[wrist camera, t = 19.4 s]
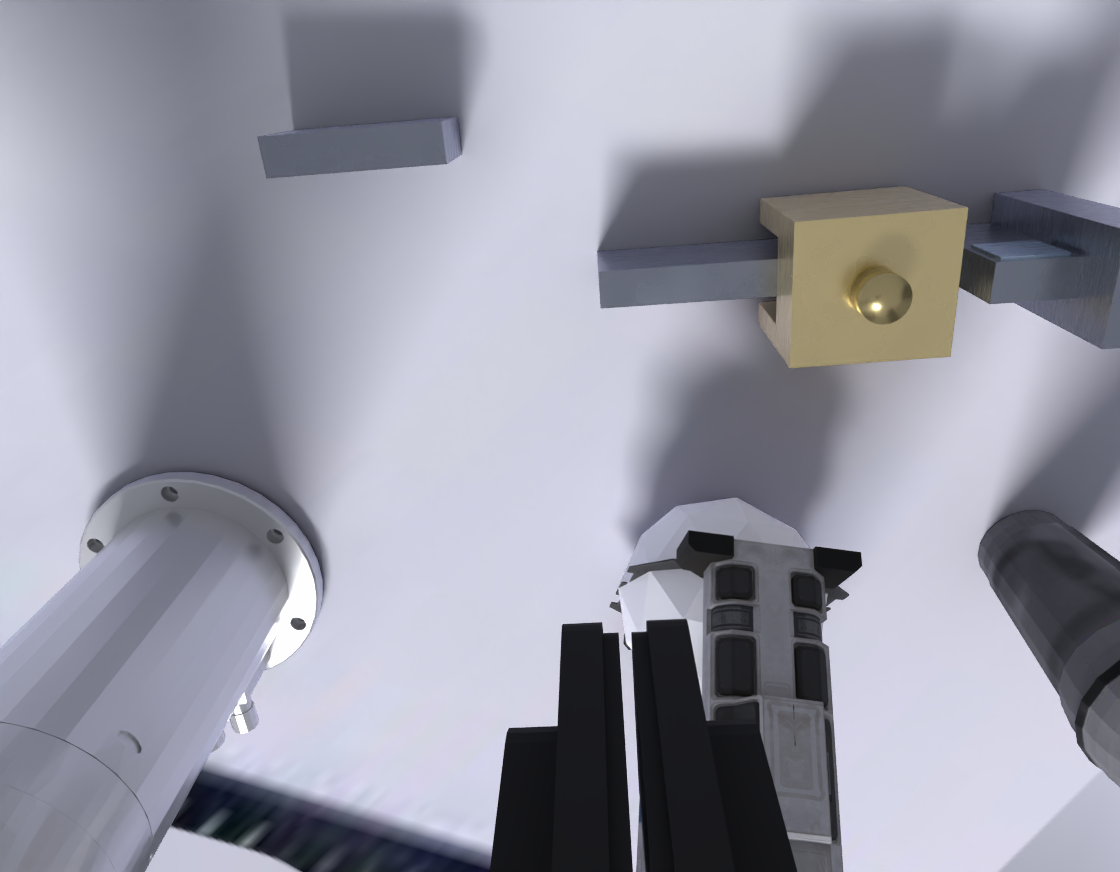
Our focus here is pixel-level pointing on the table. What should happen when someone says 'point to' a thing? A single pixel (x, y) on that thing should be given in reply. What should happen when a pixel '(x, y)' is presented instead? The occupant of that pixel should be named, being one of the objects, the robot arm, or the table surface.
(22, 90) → the table surface
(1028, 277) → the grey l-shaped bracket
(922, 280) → the tan box with knob
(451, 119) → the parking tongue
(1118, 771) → the beverage cup
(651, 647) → the robot arm
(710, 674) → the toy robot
